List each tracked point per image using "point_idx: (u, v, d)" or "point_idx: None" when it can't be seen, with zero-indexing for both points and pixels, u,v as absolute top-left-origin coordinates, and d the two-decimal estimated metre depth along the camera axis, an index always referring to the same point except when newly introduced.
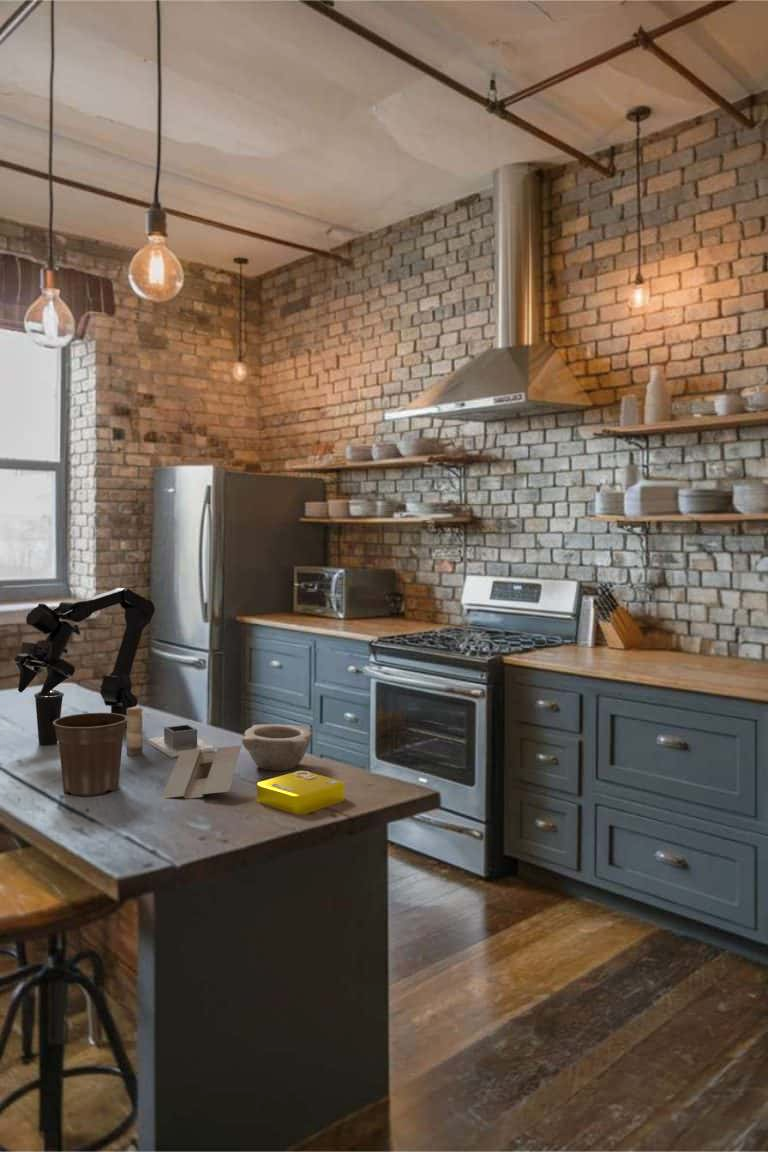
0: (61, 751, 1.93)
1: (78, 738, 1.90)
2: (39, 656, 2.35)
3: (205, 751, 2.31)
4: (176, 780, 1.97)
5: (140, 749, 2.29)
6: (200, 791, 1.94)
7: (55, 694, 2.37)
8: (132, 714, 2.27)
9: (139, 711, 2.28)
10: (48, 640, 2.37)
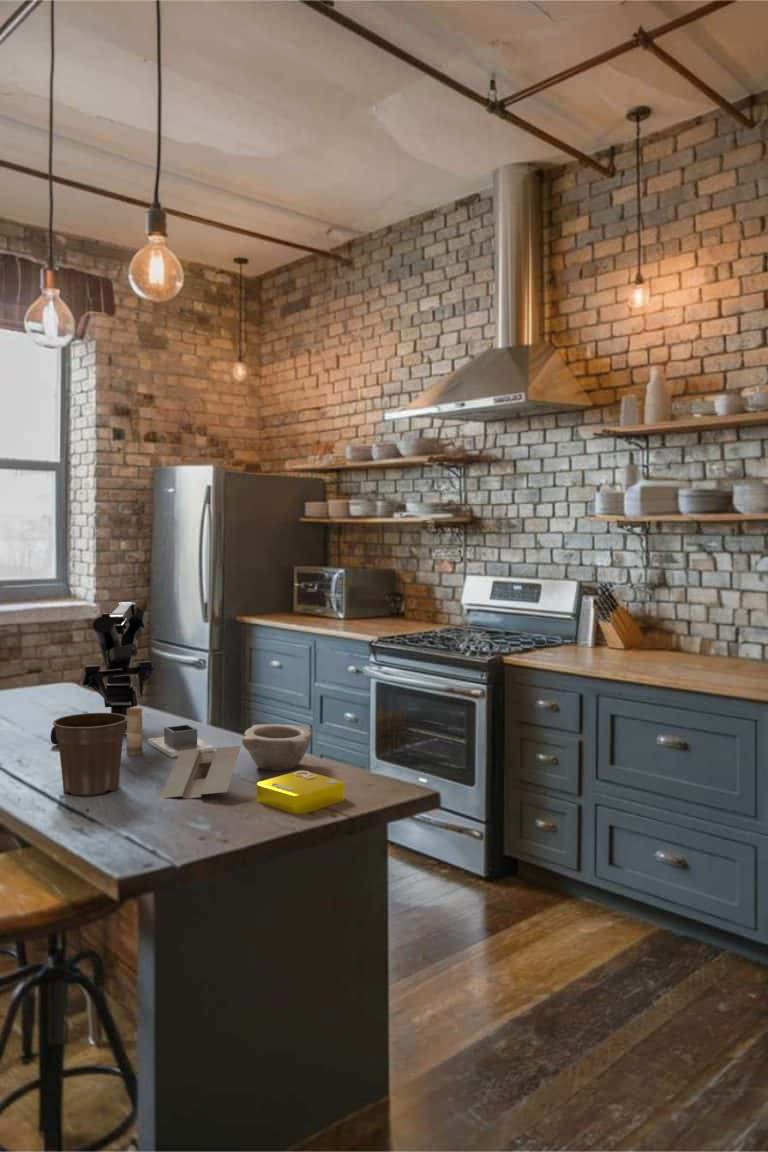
0: (61, 751, 1.93)
1: (78, 738, 1.90)
2: (118, 662, 2.39)
3: (205, 751, 2.31)
4: (174, 780, 1.97)
5: (140, 749, 2.29)
6: (198, 791, 1.94)
7: None
8: (132, 714, 2.27)
9: (139, 711, 2.28)
10: None
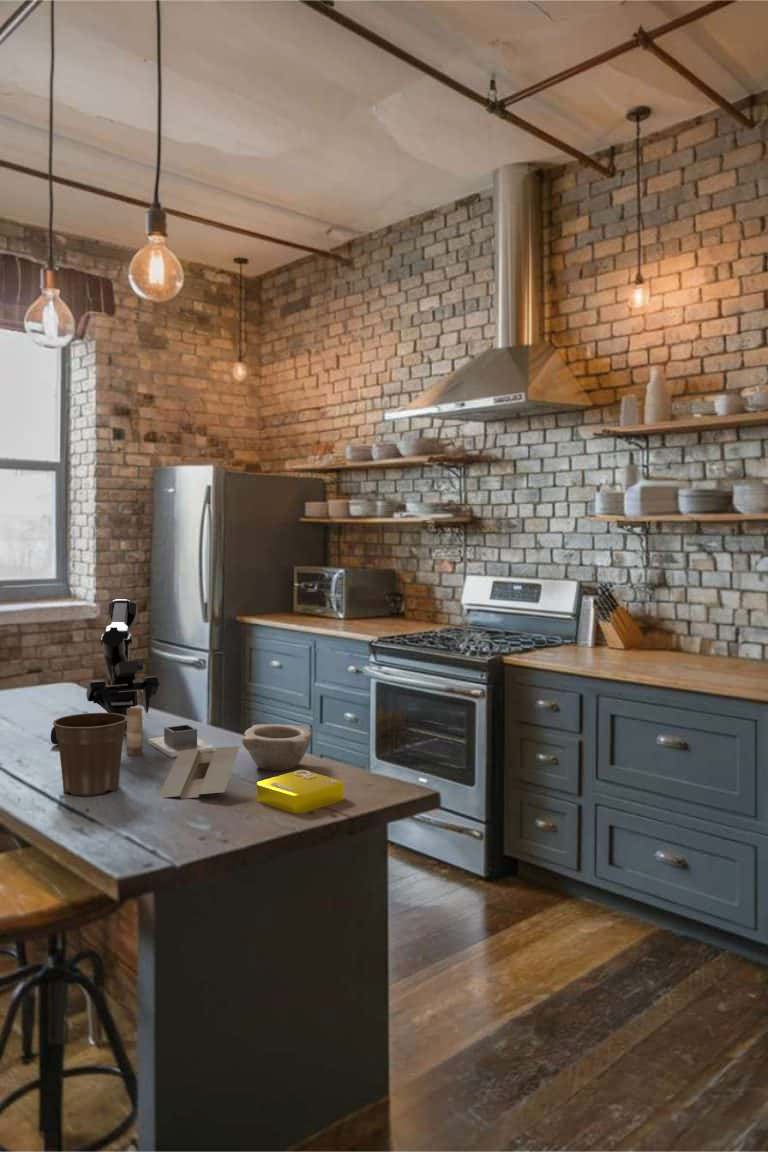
0: (61, 751, 1.93)
1: (78, 738, 1.90)
2: (124, 678, 2.35)
3: (205, 751, 2.31)
4: (173, 779, 1.97)
5: (140, 749, 2.29)
6: (196, 791, 1.93)
7: None
8: (132, 714, 2.27)
9: (139, 711, 2.28)
10: None
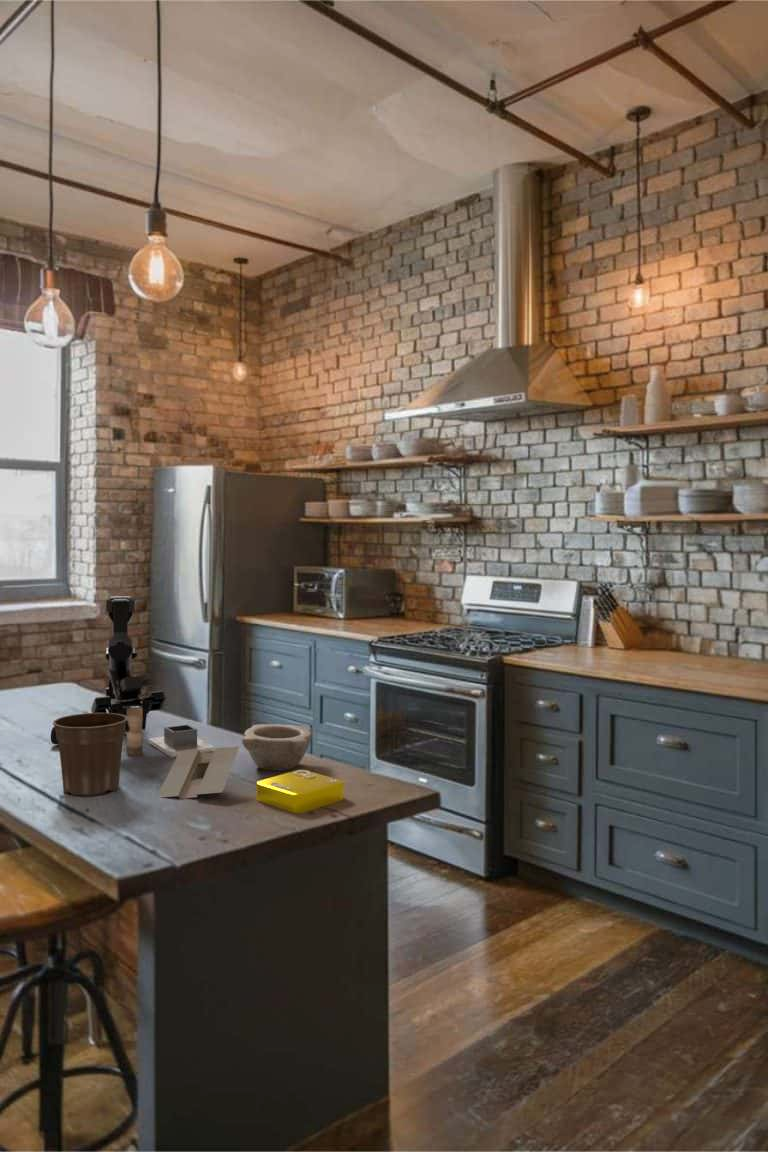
0: (61, 751, 1.93)
1: (78, 738, 1.90)
2: (130, 693, 2.32)
3: (205, 751, 2.31)
4: (172, 779, 1.97)
5: (140, 749, 2.29)
6: (195, 791, 1.93)
7: None
8: (132, 714, 2.27)
9: (139, 711, 2.28)
10: None
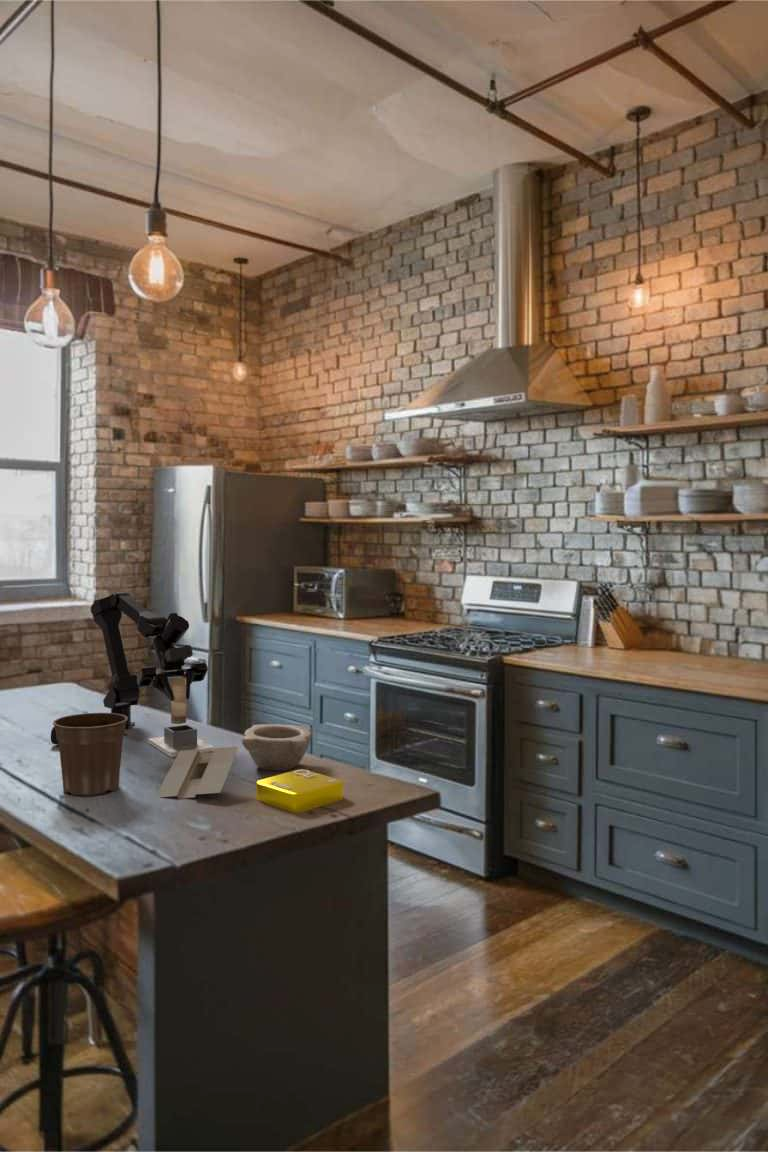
0: (61, 751, 1.93)
1: (78, 738, 1.90)
2: (174, 664, 2.38)
3: (205, 751, 2.31)
4: (171, 779, 1.97)
5: (184, 718, 2.35)
6: (193, 791, 1.93)
7: None
8: (177, 684, 2.34)
9: (183, 681, 2.34)
10: None
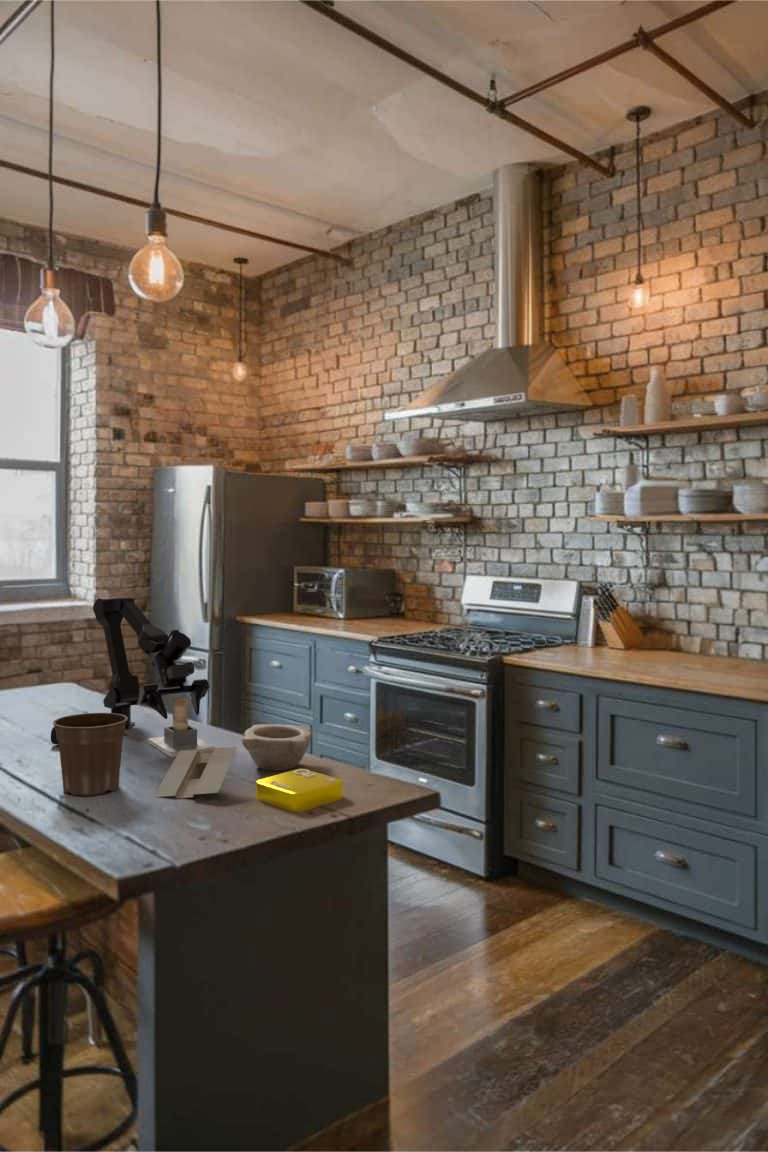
0: (61, 751, 1.93)
1: (78, 738, 1.90)
2: (175, 681, 2.39)
3: (205, 751, 2.31)
4: (170, 779, 1.97)
5: None
6: (192, 791, 1.93)
7: None
8: (179, 704, 2.34)
9: (185, 701, 2.35)
10: None
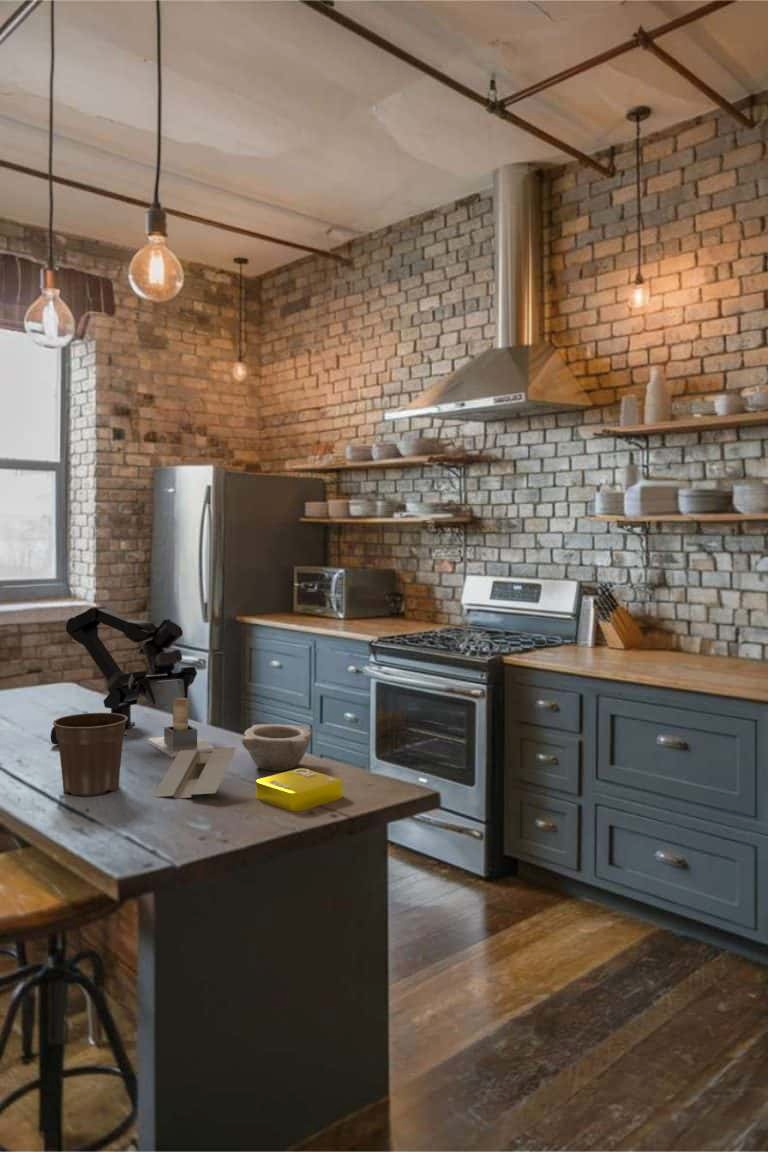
0: (61, 751, 1.93)
1: (78, 738, 1.90)
2: (164, 668, 2.46)
3: (205, 751, 2.31)
4: (169, 779, 1.98)
5: None
6: (190, 791, 1.93)
7: None
8: (179, 705, 2.34)
9: (185, 701, 2.35)
10: None
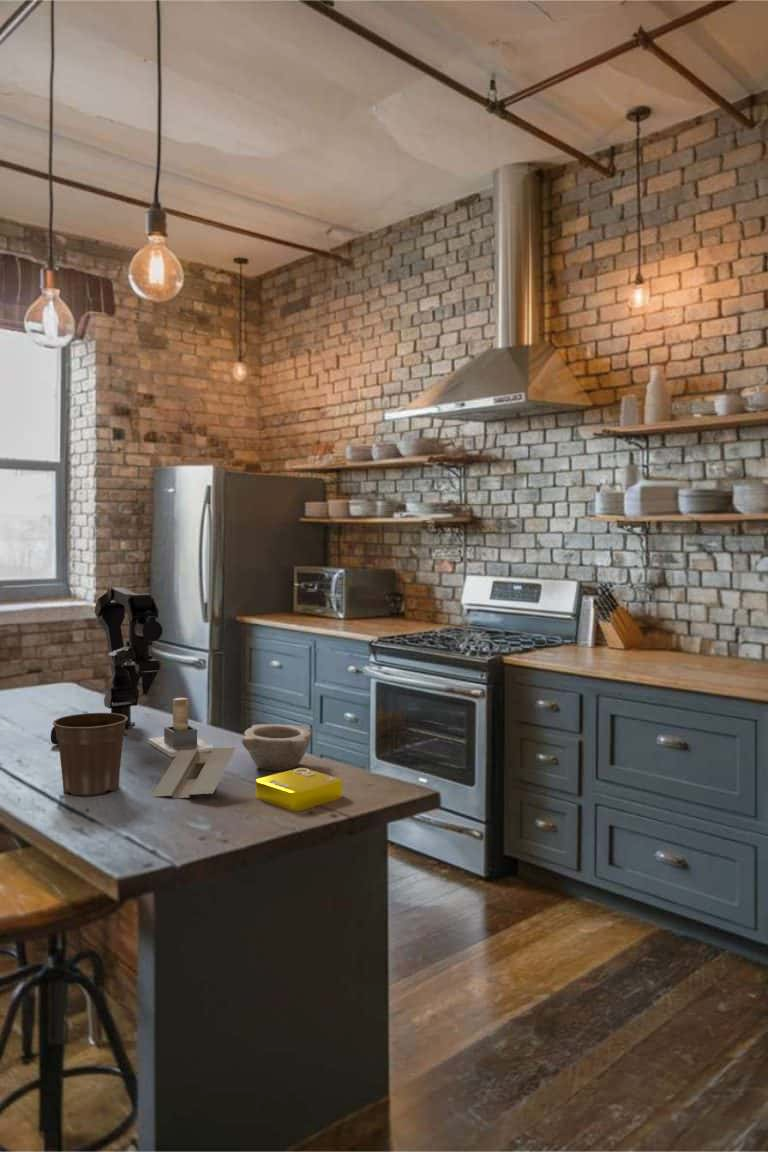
0: (61, 751, 1.93)
1: (78, 738, 1.90)
2: (129, 658, 2.45)
3: (205, 751, 2.31)
4: (168, 779, 1.98)
5: None
6: (188, 791, 1.93)
7: None
8: (179, 705, 2.34)
9: (185, 701, 2.35)
10: (129, 641, 2.44)
